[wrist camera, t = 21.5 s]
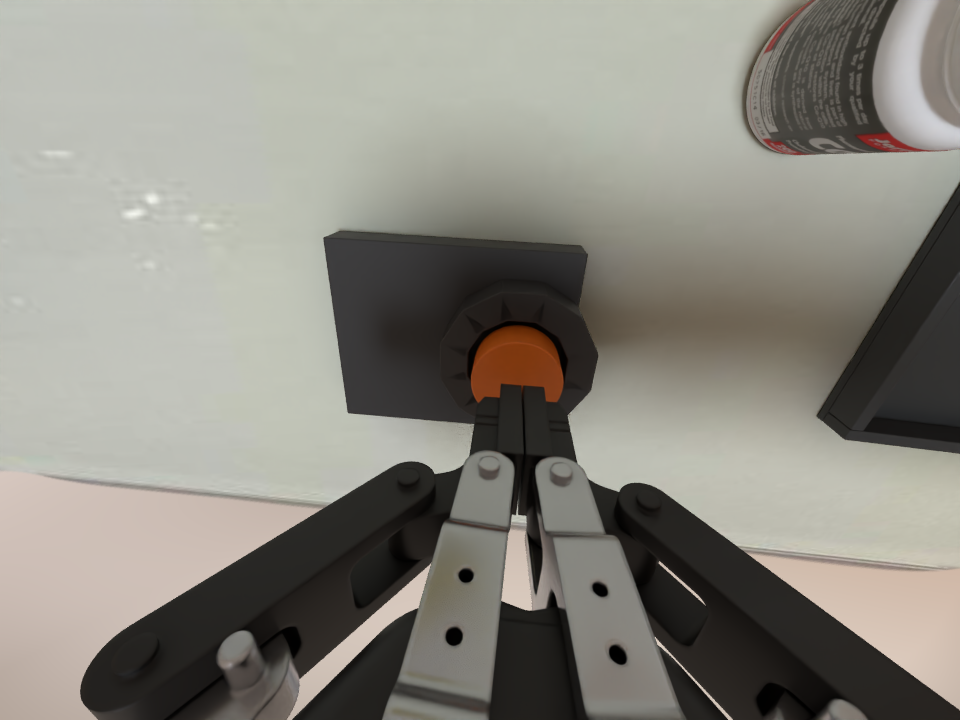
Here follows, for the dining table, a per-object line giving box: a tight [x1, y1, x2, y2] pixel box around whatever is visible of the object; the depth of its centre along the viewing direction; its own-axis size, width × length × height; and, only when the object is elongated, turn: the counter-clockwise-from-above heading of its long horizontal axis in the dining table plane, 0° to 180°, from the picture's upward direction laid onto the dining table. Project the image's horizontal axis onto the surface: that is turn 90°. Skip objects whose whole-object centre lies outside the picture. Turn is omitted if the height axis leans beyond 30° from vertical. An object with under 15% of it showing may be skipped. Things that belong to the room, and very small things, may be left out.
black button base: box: [324, 231, 598, 424], centre depth 18 cm, size 12×9×4 cm
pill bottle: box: [746, 0, 960, 155], centre depth 10 cm, size 5×5×8 cm
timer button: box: [471, 325, 564, 403], centre depth 16 cm, size 4×4×2 cm
